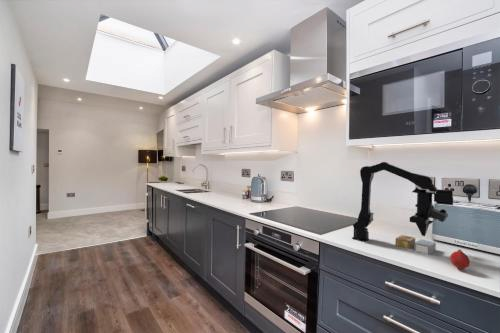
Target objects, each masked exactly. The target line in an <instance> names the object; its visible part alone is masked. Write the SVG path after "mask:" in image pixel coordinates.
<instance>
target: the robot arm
mask: <svg viewBox="0 0 500 333" xmlns="http://www.w3.org/2000/svg"><path fill="white" fill-rule="evenodd" d="M382 171H385V172H388V173H390V174H393V175H396V176H398V177H400V178H402V179H405V180H408V181H409V182H411V183H412V184H413V185H415V186H417V187H415V188H414V189H413V190H412V191H411V192H412V193H415V194H416V204H415V208H416V212H415V213H414V215H412V216H410V217H409V223H413V224H416V226H417V228H418V230H419V233H420V234H421V237H425V236H426V234H427V231H428V228H429V226H430V225H431V224H433V223H434V220H435V221H436V220H438V221H439V222H441V223H443V222H446V220H447V218H448V217H449V214H448V213H447V209H444V208H442V209H440V210H439V209H435V205H433V202H435V203H436V204H437V205H447V206H454V195H453V189H439V188H437V187H436V186H435V184H433V183H434V181H433V179H432V177H430V176H427V175H425V174H419V173H415V172H411V171H408V170H406V169H403V168H401V167H399V166H397V165H396V166H395V165H394V164H390V163H389V162H386V161H382V162H380V163H377V164H373V165H371V166H370V165H365V166H362V167H361V168H360V169H359V174H360V180H361V182H362V185H361V203H360V204H361V207H360V211H359V212H358V213H359V214H358V217H357V221H356V222H355V223H352V228H353V237H351V239H353V240H356V241H360V242H366V241H369V240H370V238H369V230H368V229H369V228H368V227H369V226H370V225H371V223H372V222H374V215H375V214H374V212H371V196H372V195H371V193H372V182H373V180H374V175H375V174H376V173H379V172H382ZM427 190H428V191H427ZM431 219H434V220H431Z"/></svg>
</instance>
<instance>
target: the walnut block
mask: <svg viewBox="0 0 500 333" xmlns="http://www.w3.org/2000/svg"><path fill="white" fill-rule="evenodd" d="M415 242H416V237H413V236H408V235H404V234H401V235H398V236H397V237H396V238H395V247H399V248H403V249H406V250H407V249H408V250H410V249H411V248H414V244H415Z"/></svg>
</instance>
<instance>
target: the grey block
mask: <svg viewBox="0 0 500 333" xmlns="http://www.w3.org/2000/svg"><path fill="white" fill-rule="evenodd" d="M436 244H437V243H436V242H434V241H430V240H426V239H419V240H417V241H415V244H414V246H413V248H414V251H415V252H418V253H422V254H426V255H431V254H433V253H434V252H435V251H436V249H437V247H436Z"/></svg>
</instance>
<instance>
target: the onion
mask: <svg viewBox="0 0 500 333" xmlns="http://www.w3.org/2000/svg"><path fill="white" fill-rule="evenodd" d="M449 260H450V263H451V265H453V266H454V268H456V269H457V270H459V271H462V270H464V269H466V268H468V267H469V266H470V264H471V263H470V262H471V261H470V258H469V256H468V255H467V254H465V253H464V252H463V251H462V249H457V250H456V251H454V252H452V253H451V254H450V256H449Z"/></svg>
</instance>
